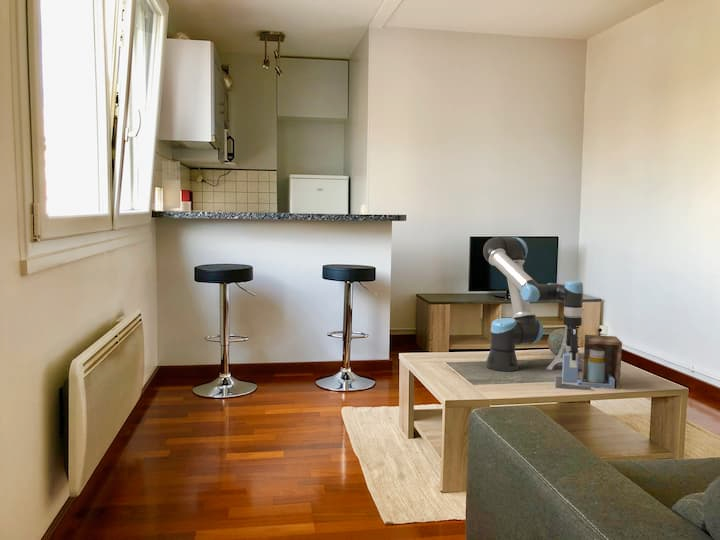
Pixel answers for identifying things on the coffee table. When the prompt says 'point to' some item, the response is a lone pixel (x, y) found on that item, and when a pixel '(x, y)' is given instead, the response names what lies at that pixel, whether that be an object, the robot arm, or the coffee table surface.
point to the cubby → (611, 355)
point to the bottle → (596, 366)
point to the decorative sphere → (556, 340)
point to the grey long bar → (569, 386)
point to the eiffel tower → (559, 357)
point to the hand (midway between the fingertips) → (571, 363)
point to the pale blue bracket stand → (572, 374)
